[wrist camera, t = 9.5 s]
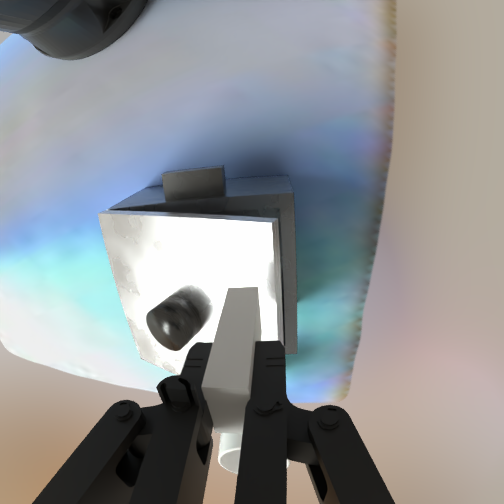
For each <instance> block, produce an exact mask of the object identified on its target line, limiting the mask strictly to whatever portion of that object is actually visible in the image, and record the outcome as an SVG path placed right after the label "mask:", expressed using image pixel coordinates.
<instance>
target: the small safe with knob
mask: <svg viewBox="0 0 504 504" xmlns="http://www.w3.org/2000/svg"><path fill="white" fill-rule="evenodd" d="M162 181H163V186H156V187H148V188H144V189H142V190H141V191H139V192H137V193H135V194H133V195H132V196H130V197H128V198H126V199H124V200H123V201H121V202H119V203H118V204H116V205H114V206H112V207H111V208H109V209H107V210H113V211H146V212H172V213H194V214H214V215H232V216H248V217H263V218H278V229H279V247H280V267H281V289H282V314H283V343H284V347H285V354H297V275H296V238H295V212H294V192H293V189H292V186H291V183H290V180H289V177H288V175H275V176H259V177H245V178H232V179H225V171H224V165H222V166H212V167H202V168H193V169H185V170H177V171H169V172H165V173H163V174H162Z"/></svg>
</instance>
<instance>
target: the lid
mask: <svg viewBox="0 0 504 504" xmlns="http://www.w3.org/2000/svg"><path fill="white" fill-rule="evenodd" d="M98 216H99V221H100V225H101V230H102V234H103V238H104V242H105V246H106V250H107V254H108V258H109V262H110V265H111V269H112V273H113V276H114V280H115V283H116V287H117V290H118V293H119V296H120V300H121V303H122V306H123V309H124V312H125V315H126V318H127V321H128V324H129V327H130V330H131V333H132V335H133V338H134V341H135V344H136V346H137V349H138V352H139V354H140V357H141V359H143V360H145V361H147V362H149V363H151V364H153V365H156V366H158V367H160V368H162V369H164V370H167V371H169V372H171V373H174V374H176V375H180V374H181V371H182V368H183V365H184V362H185V360H186V356H187V354H188V351H189V349H190V348H191V347H192V346H193V345H194V344H195V343H196V342H213V341H214V337H215V333H216V329H217V326H218V322H219V318H220V314H221V311H222V307H223V303H224V300H225V296H226V292H227V289H228V287H253V286H258V288H259V300H260V312H261V324H262V340H261V341H275V340H280V342H281V343H282V345H283V346H284V343H283V314H282V289H281V267H280V247H279V229H278V218H263V217H248V216H232V215H214V214H194V213H172V212H146V211H113V210H105V211H103V212H100V213H98Z"/></svg>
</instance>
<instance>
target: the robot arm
mask: <svg viewBox="0 0 504 504" xmlns="http://www.w3.org/2000/svg"><path fill="white" fill-rule="evenodd" d="M146 2H147V0H0V31H4V32H10V33H15V34H19V35H20V36H22V37H23V38H25V39H26V40H28V41H29V42H30V43H32V44H33V45H34V47H35V48H36V49H37V50H38V51H39V52H41V53H42V54H44V55H46V56H49V57H52V58H57V59H62V60H77V59H82V58H85V57H88V56H91V55H93V54H95V53H97V52H99V51H101V50H103V49H104V48H106V47H107V46H109V45H110V44H111V43H113V42H114V41H115V40H117V39H118V38H119V37H120V36H121V35H122V34H123V33H124V32H125V31H126V30H127V29H128V28H129V27H130V26H131V25H132V23H133V22H134V21H135V20H136V18H137V17H138V16H139V14H140V13H141V11H142V9H143V8H144V6H145V4H146ZM261 340H262V324H261V312H260V300H259V288H258V286H253V287H228V289H227V292H226V296H225V300H224V303H223V307H222V311H221V314H220V318H219V322H218V326H217V329H216V333H215V337H214V341H213V342H196V343H195V344H194V345H193V346H192V347H191V348H190V349H189V351H188V354H187V356H186V360H185V362H184V365H183V368H182V371H181V374H180V375H174V376H170V377H167V378H165V379H163V380H162V381H161V382H160V383H159V384H158V386H157V387H156V388H157V390H158V393H159V395H160V397H161V400H162V402H163V403H162V404H160V405H156V406H151V407H143V408H140V407H139V405H138V404H137V403H135V402H134V401H130V400H123V401H119V402H117V403H115V404H113V405H112V406H111V407H110V408H109V409H108V410H107V412H106V413H105V414H104V416H103V417H102V418H101V419H100V420H99V422H98V423H97V424H96V425H95V426H94V428H93V429H92V430H91V431H90V433H89V434H88V435H87V437H85V439H84V440H83V441H82V442H81V443H80V445H79V446H78V447H77V448H76V450H75V451H74V452H73V453H72V455H71V456H70V457H69V458H68V459H67V461H66V462H65V463H64V464H63V466H62V467H61V468H60V469H59V471H58V472H57V473H56V474H55V476H54V477H53V478H52V479H51V481H50V482H49V483H48V484H47V486H46V487H45V488H44V489H43V491H42V492H41V493H40V494H39V496H38V497H37V498H36V499H35V501H34V502H33V503H32V504H203V498H204V492H205V487H206V481H207V476H208V470H209V464H210V459H211V453H212V447H213V439H212V436H211V433H212V428H213V427H214V430H215V432H216V433H235V434H242V442H241V451H240V459H239V468H238V476H237V486H236V494H235V502H234V504H286V495H287V488H286V487H287V459H288V460H292V461H296V462H301V463H305V464H306V467H307V470H308V473H309V476H310V478H311V481H312V484H313V486H314V490H315V492H316V495H317V498H318V500H319V503H320V504H395V502H394V500H393V499H392V497H391V495H390V493H389V491H388V489H387V487H386V485H385V483H384V481H383V479H382V477H381V476H380V473H379V472H378V470H377V468H376V466H375V464H374V462H373V460H372V458H371V456H370V454H369V452H368V450H367V448H366V447H365V445H364V443H363V441H362V439H361V437H360V435H359V433H358V431H357V429H356V428H355V426H354V424H353V422H352V420H351V418H350V416H349V414H348V413H347V412H346V411H345V410H344V409H342V408H340V407H338V406H333V405H326V406H321V407H319V408H317V409H315V410H314V411H308V410H304V409H300V408H297V407H296V406H294V405H293V404H291V403H290V402H289V400H288V398H287V395H286V366H285V347H284V346H283V345H282V343H281V342H280V340H275V341H261Z"/></svg>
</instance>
